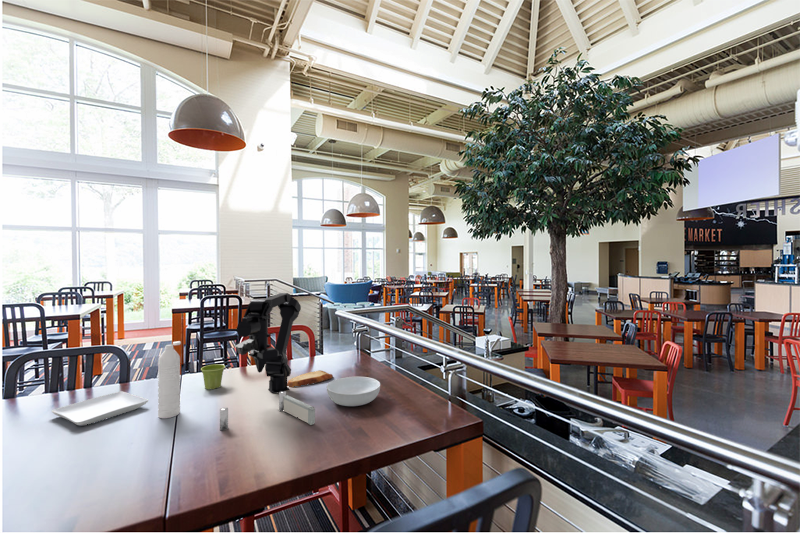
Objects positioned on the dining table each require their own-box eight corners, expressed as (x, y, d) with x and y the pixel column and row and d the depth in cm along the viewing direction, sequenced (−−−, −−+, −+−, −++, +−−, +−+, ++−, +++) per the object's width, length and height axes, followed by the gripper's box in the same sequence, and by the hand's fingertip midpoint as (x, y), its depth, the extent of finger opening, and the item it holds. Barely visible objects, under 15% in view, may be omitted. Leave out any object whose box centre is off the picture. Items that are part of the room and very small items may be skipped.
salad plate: (49, 419, 121) (49, 409, 121) (121, 398, 140) (121, 389, 140) (76, 432, 111) (76, 422, 111) (150, 408, 130) (150, 399, 130)
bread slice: (283, 387, 152) (283, 379, 152) (299, 375, 170) (299, 367, 170) (323, 389, 150) (323, 380, 150) (335, 376, 168) (335, 368, 168)
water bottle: (172, 418, 120) (172, 346, 120) (153, 418, 120) (153, 346, 120) (187, 408, 129) (187, 341, 129) (170, 408, 129) (170, 341, 129)
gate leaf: (283, 411, 126) (283, 396, 126) (287, 409, 127) (287, 395, 127) (310, 425, 115) (311, 409, 115) (315, 423, 116) (315, 407, 116)
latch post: (226, 426, 115) (226, 406, 115) (229, 428, 113) (229, 408, 113) (218, 428, 113) (218, 409, 113) (221, 431, 111) (221, 411, 111)
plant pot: (227, 382, 157) (227, 363, 157) (222, 389, 148) (222, 369, 148) (204, 384, 155) (204, 365, 155) (197, 392, 146) (197, 371, 146)
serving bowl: (383, 393, 145) (383, 376, 145) (375, 414, 124) (375, 395, 124) (335, 391, 147) (335, 374, 147) (319, 411, 126) (319, 393, 126)
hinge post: (283, 407, 130) (283, 390, 130) (287, 409, 128) (287, 392, 128) (277, 409, 128) (277, 392, 128) (281, 411, 126) (281, 393, 126)
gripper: (228, 331, 134) (228, 371, 134) (249, 338, 122) (249, 383, 122) (256, 327, 142) (256, 365, 143) (279, 334, 130) (279, 375, 130)
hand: (259, 372), depth 134 cm, fingers closed
